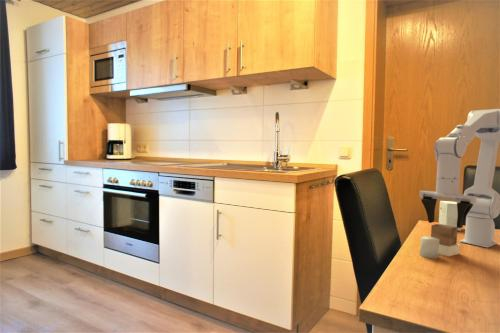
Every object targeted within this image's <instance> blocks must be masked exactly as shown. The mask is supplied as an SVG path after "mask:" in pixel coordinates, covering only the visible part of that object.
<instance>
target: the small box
mask: <svg viewBox="0 0 500 333" xmlns="http://www.w3.org/2000/svg"><path fill="white" fill-rule="evenodd" d="M457 203H458V201H450V200H440V201H439V210H438V212H439V213H438V214H439V215H438V224H444V225H449V226H455V227H457V218H458V211H457ZM458 231H460V232H461V231H462V228H457V232H458Z"/></svg>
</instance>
